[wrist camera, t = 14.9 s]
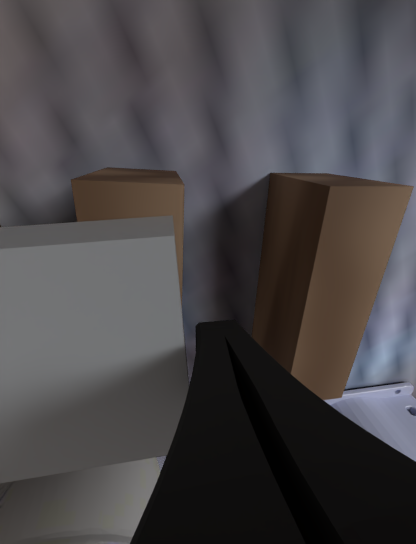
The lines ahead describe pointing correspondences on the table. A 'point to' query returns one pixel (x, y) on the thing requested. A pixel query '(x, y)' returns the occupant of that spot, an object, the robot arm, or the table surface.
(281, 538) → the robot arm
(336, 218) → the block
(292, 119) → the table surface
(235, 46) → the table surface
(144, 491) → the teacup
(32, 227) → the slab
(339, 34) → the table surface
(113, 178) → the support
